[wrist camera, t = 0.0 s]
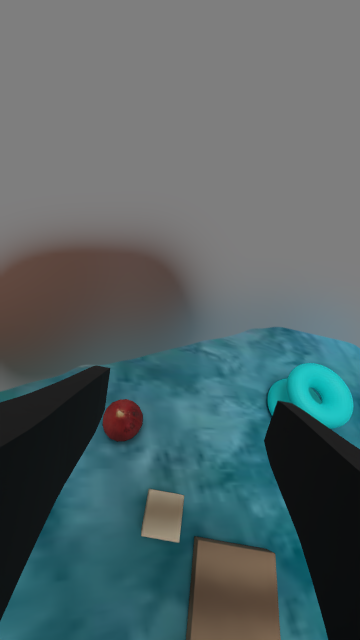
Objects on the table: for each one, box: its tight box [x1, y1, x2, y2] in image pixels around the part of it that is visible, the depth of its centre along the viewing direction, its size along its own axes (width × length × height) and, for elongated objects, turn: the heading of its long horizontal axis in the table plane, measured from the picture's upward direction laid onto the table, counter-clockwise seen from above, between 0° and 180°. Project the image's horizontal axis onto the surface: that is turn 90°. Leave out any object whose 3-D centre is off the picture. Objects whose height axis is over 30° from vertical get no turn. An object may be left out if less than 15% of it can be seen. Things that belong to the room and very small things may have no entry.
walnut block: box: [186, 537, 280, 640], centre depth 29 cm, size 10×10×3 cm
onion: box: [103, 399, 143, 441], centre depth 35 cm, size 6×6×8 cm
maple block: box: [141, 489, 184, 543], centre depth 31 cm, size 4×4×5 cm
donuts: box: [267, 363, 353, 429], centre depth 40 cm, size 10×10×10 cm
